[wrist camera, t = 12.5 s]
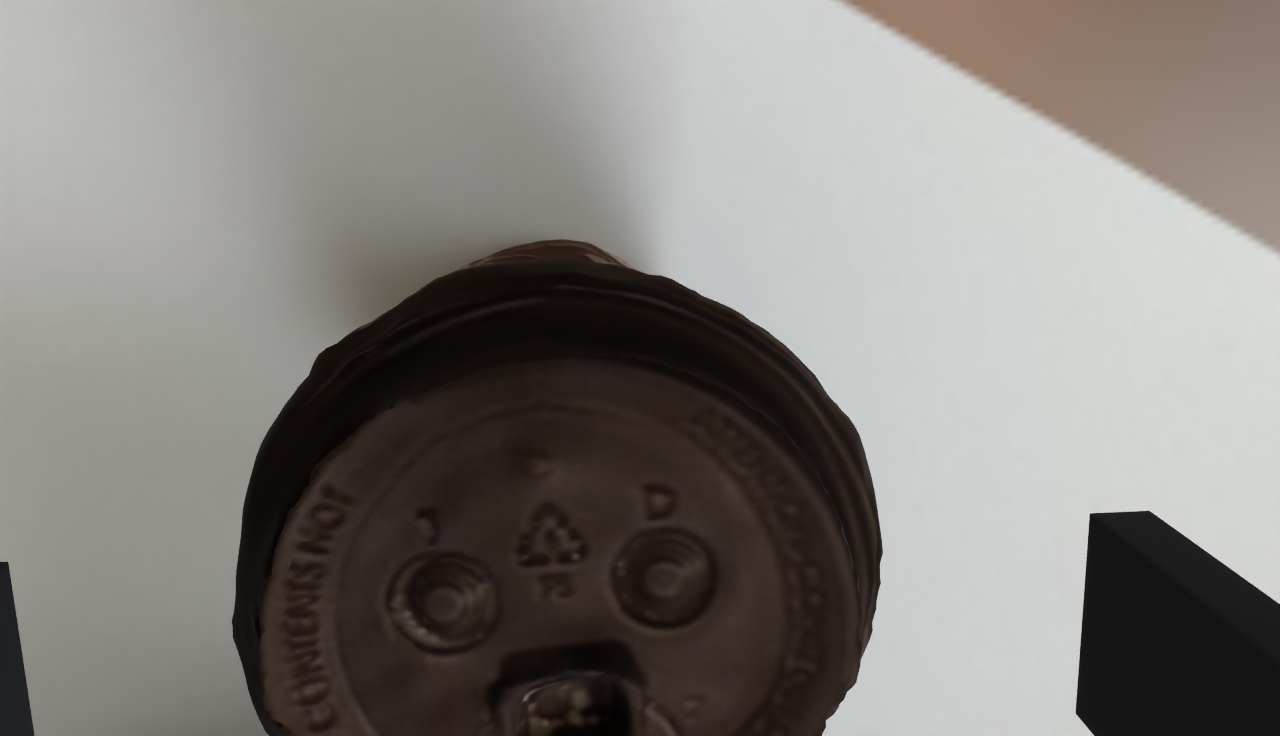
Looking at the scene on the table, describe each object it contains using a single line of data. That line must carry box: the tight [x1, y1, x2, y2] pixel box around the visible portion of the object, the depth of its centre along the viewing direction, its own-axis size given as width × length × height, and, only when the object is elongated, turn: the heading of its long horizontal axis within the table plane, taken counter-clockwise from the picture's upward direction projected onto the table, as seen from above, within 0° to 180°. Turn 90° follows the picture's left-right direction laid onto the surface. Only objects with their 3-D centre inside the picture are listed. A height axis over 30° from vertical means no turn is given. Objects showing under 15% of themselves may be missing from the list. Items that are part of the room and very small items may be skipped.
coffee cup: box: [232, 240, 883, 736], centre depth 20 cm, size 9×8×13 cm
